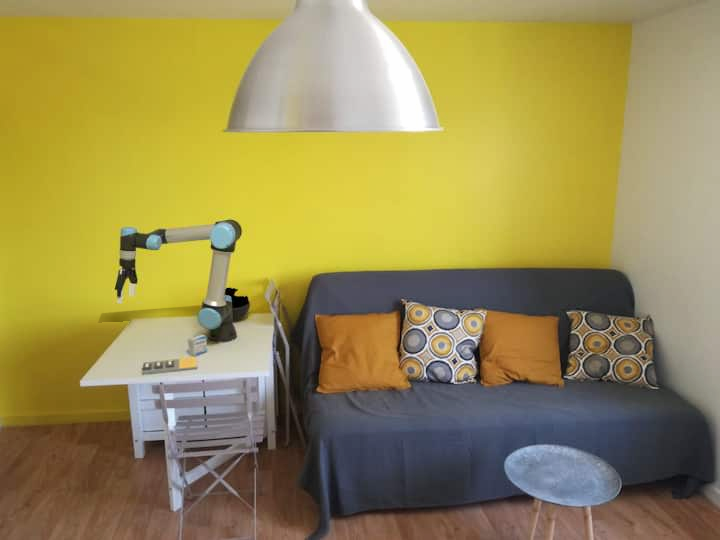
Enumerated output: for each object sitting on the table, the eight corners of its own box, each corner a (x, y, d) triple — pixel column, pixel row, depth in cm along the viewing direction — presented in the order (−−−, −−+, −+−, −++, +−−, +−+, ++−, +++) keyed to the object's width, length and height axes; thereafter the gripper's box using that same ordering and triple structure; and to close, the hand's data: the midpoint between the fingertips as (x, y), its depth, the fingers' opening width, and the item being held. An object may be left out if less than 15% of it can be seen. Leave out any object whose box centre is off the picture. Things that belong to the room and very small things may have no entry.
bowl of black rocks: (235, 313, 366) (233, 282, 362) (258, 319, 354) (256, 288, 350) (208, 321, 351) (206, 289, 347) (230, 328, 339) (228, 295, 335)
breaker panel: (196, 359, 295) (196, 353, 294) (197, 369, 283) (197, 363, 282) (143, 364, 288) (143, 358, 288) (142, 375, 276) (141, 368, 275)
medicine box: (195, 356, 298) (194, 340, 296) (188, 355, 300) (187, 338, 298) (207, 352, 304) (206, 335, 302) (201, 350, 307) (200, 333, 304)
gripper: (131, 252, 316) (129, 292, 321) (108, 262, 292) (106, 304, 297) (145, 254, 316) (143, 294, 320) (123, 264, 292) (121, 306, 296)
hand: (125, 299), depth 309 cm, fingers open, 13 cm apart
